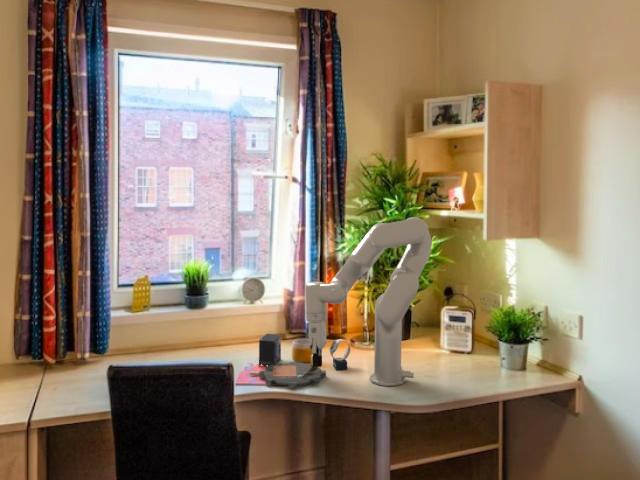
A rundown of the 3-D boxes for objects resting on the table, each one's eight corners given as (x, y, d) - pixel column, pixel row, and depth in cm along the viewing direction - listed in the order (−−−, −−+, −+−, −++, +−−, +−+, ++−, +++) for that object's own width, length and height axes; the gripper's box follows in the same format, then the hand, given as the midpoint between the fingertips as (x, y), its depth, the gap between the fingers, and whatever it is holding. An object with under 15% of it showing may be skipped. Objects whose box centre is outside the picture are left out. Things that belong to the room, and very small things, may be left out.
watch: (328, 366, 216) (328, 338, 215) (348, 365, 217) (348, 337, 217) (331, 370, 210) (331, 342, 210) (351, 369, 212) (351, 341, 211)
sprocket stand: (309, 374, 206) (309, 371, 206) (303, 383, 196) (303, 380, 196) (254, 370, 210) (254, 367, 210) (246, 379, 200) (246, 376, 200)
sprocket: (293, 362, 219) (293, 345, 218) (339, 376, 203) (339, 357, 202) (245, 377, 201) (245, 358, 201) (292, 393, 185) (292, 372, 184)
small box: (274, 367, 214) (274, 340, 213) (258, 366, 216) (258, 339, 215) (281, 359, 225) (281, 334, 224) (266, 358, 226) (266, 333, 225)
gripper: (322, 321, 192) (323, 373, 194) (330, 312, 207) (331, 360, 208) (301, 320, 193) (302, 372, 195) (310, 311, 208) (311, 359, 210)
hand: (317, 365), depth 202 cm, fingers closed
